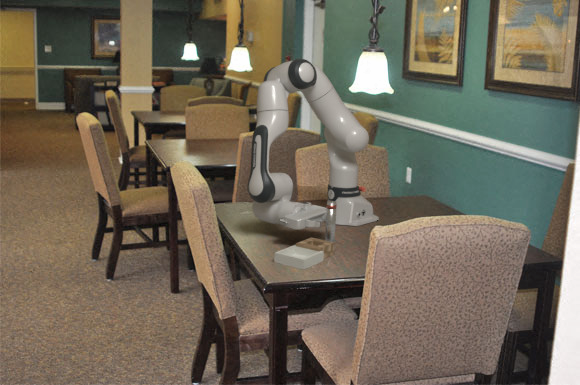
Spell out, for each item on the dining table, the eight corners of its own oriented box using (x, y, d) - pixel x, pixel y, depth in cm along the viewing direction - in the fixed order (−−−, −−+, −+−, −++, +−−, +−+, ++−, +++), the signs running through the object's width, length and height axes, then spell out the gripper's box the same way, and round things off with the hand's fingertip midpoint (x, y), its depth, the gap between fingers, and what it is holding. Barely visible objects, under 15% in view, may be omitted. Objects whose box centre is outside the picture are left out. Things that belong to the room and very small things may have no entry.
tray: (294, 254, 213) (294, 244, 212) (323, 261, 207) (323, 251, 206) (274, 262, 204) (274, 252, 204) (303, 269, 198) (304, 259, 198)
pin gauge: (330, 246, 222) (332, 200, 219) (336, 249, 220) (338, 202, 216) (322, 248, 221) (324, 201, 217) (328, 250, 218) (330, 203, 215)
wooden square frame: (310, 249, 219) (311, 237, 218) (333, 254, 214) (334, 242, 213) (295, 255, 212) (295, 243, 211) (318, 261, 207) (319, 248, 206)
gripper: (276, 211, 218) (310, 218, 210) (310, 201, 234) (343, 207, 226) (275, 229, 219) (310, 237, 211) (309, 218, 235) (342, 225, 228)
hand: (327, 222), depth 219 cm, fingers open, 8 cm apart
